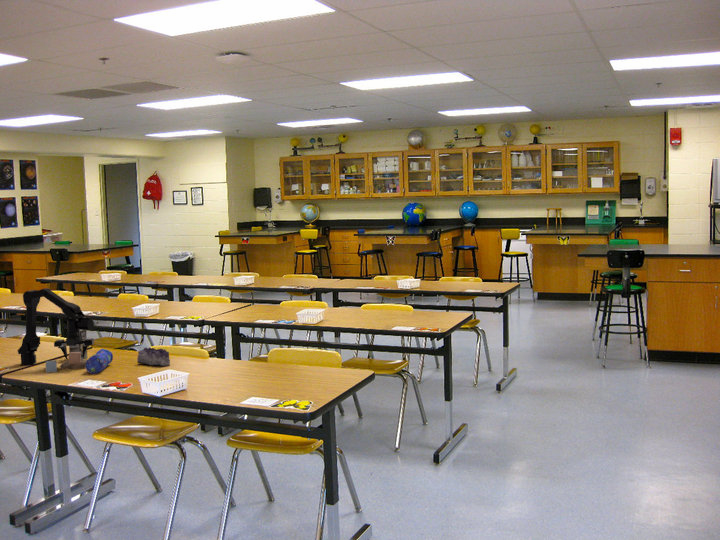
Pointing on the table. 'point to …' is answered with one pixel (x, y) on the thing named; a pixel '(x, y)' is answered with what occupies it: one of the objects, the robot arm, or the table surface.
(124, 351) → the table surface
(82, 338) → the coffee box
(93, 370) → the pencil case
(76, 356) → the terracotta block
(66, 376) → the table surface
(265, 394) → the table surface
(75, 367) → the plinth
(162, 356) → the geode
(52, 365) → the slate block
